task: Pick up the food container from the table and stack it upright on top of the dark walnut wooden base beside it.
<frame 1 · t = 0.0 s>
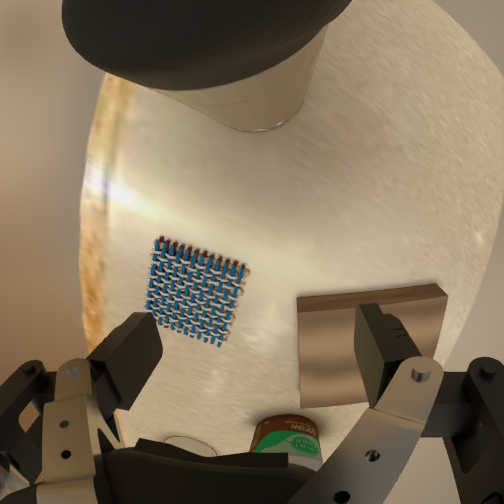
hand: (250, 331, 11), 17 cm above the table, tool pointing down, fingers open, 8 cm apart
mug: (190, 452, 42), on the table
food container: (293, 421, 36), on the table
woven mat: (194, 290, 31), on the table
walnut base: (366, 344, 30), on the table
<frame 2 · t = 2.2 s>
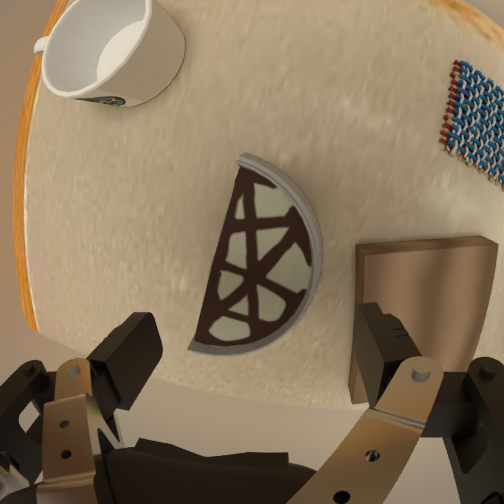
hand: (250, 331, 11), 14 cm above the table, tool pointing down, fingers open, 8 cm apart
mug: (126, 60, 21), on the table
food container: (273, 238, 24), on the table
woven mat: (481, 125, 19), on the table
walnut base: (418, 317, 24), on the table
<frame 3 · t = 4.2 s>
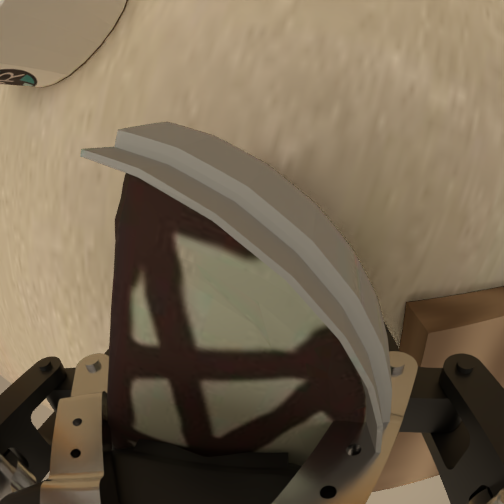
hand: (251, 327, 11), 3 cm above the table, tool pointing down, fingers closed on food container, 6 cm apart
mug: (56, 25, 10), on the table
food container: (269, 293, 14), on the table, touching gripper
walnut base: (469, 387, 14), on the table
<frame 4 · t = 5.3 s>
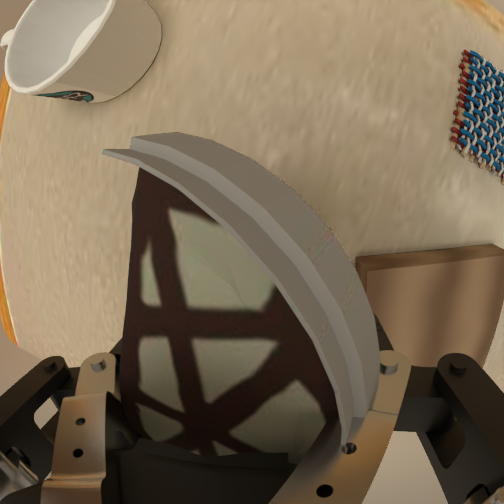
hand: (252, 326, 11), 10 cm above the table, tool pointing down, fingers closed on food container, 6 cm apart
mug: (99, 52, 17), on the table
food container: (303, 298, 14), point 7 cm above the table, touching gripper
woven mat: (492, 122, 16), on the table
walnut base: (423, 334, 22), on the table
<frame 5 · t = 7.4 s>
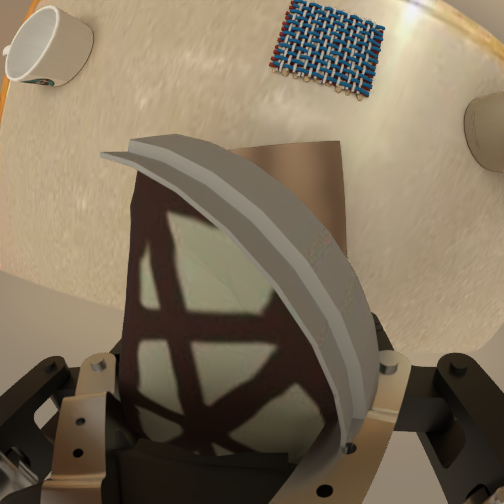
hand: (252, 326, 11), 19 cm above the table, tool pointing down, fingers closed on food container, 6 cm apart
mug: (61, 56, 25), on the table
food container: (302, 300, 14), point 16 cm above the table, touching gripper
woven mat: (327, 48, 24), on the table
walnut base: (272, 226, 29), on the table
when the fingers open (7 cm above the table, at t = 10.5 s): food container stays where it is, resting on walnut base.
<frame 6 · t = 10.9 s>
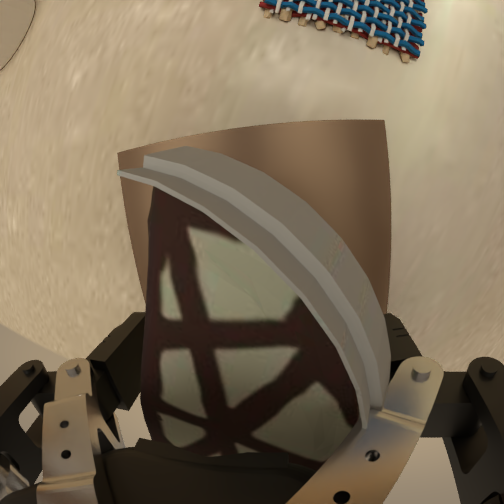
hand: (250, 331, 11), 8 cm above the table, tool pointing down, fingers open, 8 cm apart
mug: (3, 37, 14), on the table
food container: (307, 297, 14), point 3 cm above the table, touching walnut base
walnut base: (264, 265, 18), on the table
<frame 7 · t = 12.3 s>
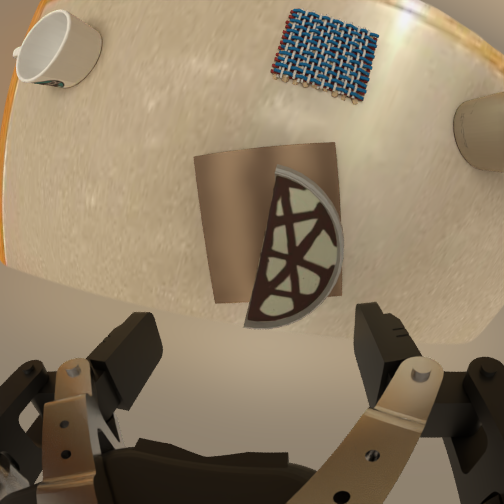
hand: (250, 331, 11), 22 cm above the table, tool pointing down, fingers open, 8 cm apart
mug: (70, 58, 27), on the table
food container: (296, 232, 29), point 3 cm above the table, touching walnut base
woven mat: (324, 55, 26), on the table
walnut base: (272, 222, 31), on the table
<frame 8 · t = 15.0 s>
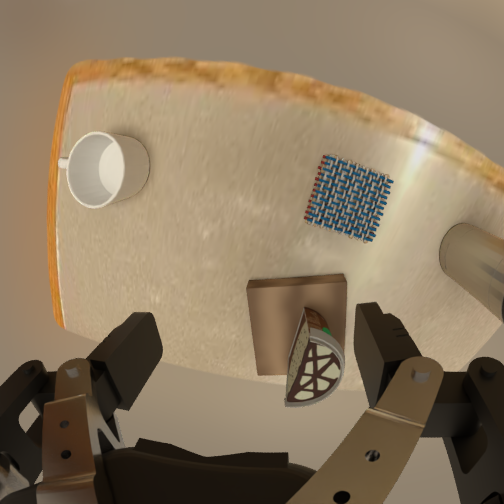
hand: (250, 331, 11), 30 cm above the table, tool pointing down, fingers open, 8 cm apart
mug: (116, 166, 40), on the table
food container: (315, 336, 41), point 3 cm above the table, touching walnut base
woven mat: (347, 197, 38), on the table
walnut base: (298, 324, 44), on the table
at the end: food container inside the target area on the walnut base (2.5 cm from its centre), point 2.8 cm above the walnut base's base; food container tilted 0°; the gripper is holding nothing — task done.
